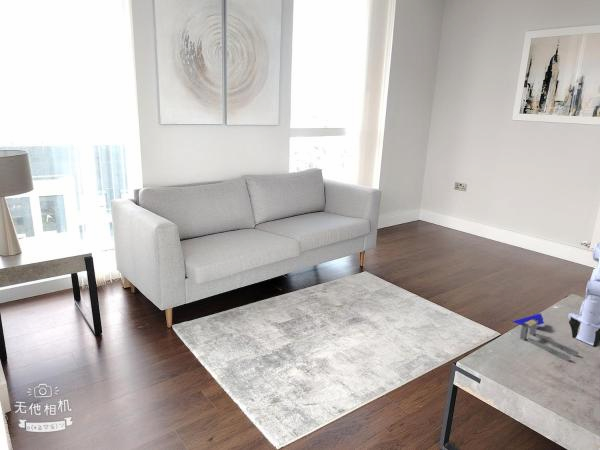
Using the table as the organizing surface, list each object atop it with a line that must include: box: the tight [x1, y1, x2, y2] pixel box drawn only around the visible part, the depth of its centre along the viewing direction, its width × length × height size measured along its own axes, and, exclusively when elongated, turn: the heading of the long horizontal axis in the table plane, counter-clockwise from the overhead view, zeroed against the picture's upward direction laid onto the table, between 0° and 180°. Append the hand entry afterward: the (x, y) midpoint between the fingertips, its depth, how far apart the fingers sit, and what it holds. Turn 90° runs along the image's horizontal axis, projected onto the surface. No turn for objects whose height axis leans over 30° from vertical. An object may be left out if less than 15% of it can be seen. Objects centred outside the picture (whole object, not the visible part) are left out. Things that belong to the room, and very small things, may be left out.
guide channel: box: [527, 333, 579, 362], centre depth 178 cm, size 8×17×2 cm, turn 34°
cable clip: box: [512, 312, 545, 328], centre depth 197 cm, size 12×4×6 cm
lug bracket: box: [519, 319, 538, 341], centre depth 186 cm, size 9×2×8 cm, turn 124°
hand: (584, 341), depth 166 cm, fingers open, 7 cm apart
